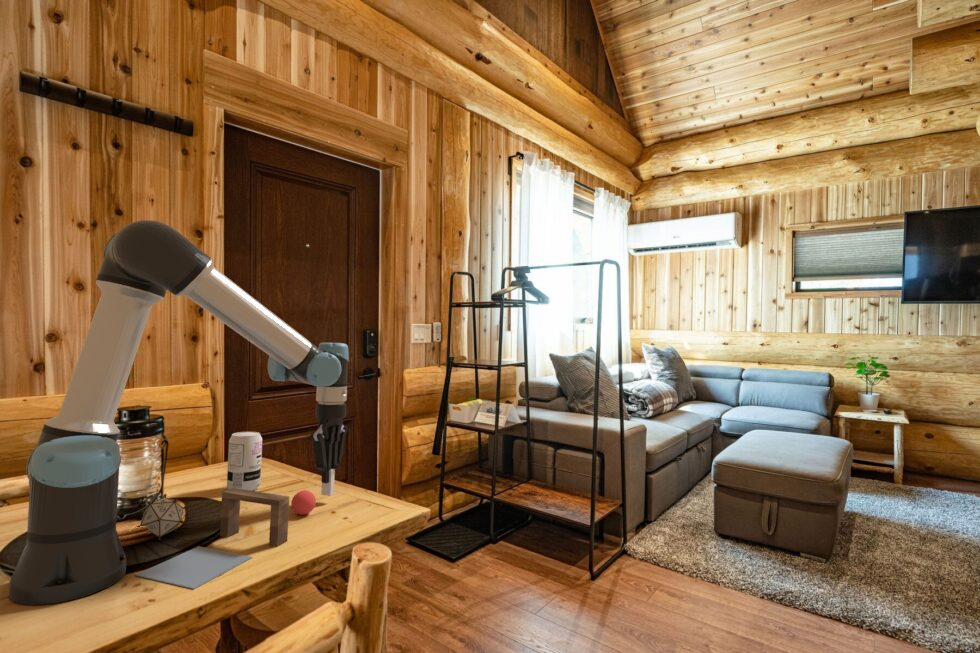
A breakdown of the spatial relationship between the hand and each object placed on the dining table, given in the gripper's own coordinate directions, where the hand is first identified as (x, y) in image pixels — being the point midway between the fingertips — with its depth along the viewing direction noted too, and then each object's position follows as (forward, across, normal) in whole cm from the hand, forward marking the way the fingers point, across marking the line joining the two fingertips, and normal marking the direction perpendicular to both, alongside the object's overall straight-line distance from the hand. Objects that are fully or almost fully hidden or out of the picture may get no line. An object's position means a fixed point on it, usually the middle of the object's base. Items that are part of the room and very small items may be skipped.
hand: (327, 494), depth 130 cm
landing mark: (+2, -40, 0) cm, 40 cm away
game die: (+2, -32, +18) cm, 36 cm away
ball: (-1, -10, 0) cm, 10 cm away
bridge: (+2, -26, 0) cm, 26 cm away
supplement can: (+2, 0, +27) cm, 27 cm away
